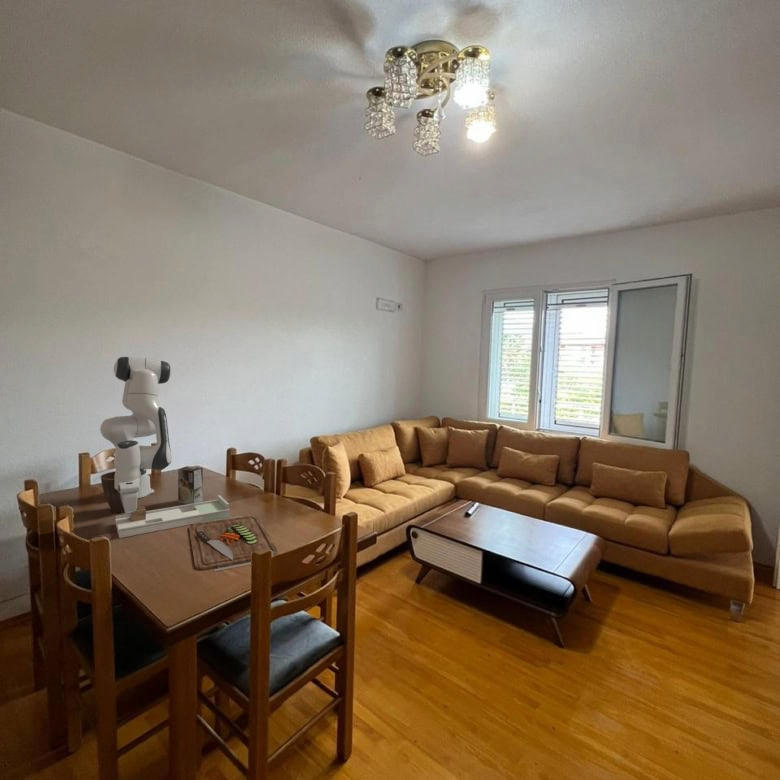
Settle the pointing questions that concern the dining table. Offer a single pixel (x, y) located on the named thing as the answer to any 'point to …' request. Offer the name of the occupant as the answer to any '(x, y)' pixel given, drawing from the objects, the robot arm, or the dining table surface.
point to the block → (138, 514)
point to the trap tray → (173, 517)
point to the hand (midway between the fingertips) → (128, 516)
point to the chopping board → (228, 542)
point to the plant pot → (112, 492)
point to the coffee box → (190, 485)
